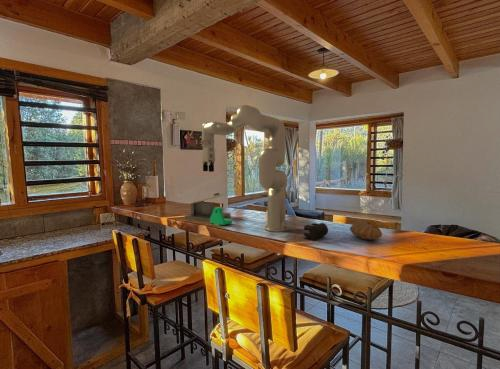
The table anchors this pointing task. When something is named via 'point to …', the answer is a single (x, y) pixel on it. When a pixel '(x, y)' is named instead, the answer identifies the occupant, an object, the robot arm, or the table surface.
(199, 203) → the leveling stand
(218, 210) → the camera mount
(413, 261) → the table surface
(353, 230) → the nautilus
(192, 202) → the level plate
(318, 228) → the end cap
